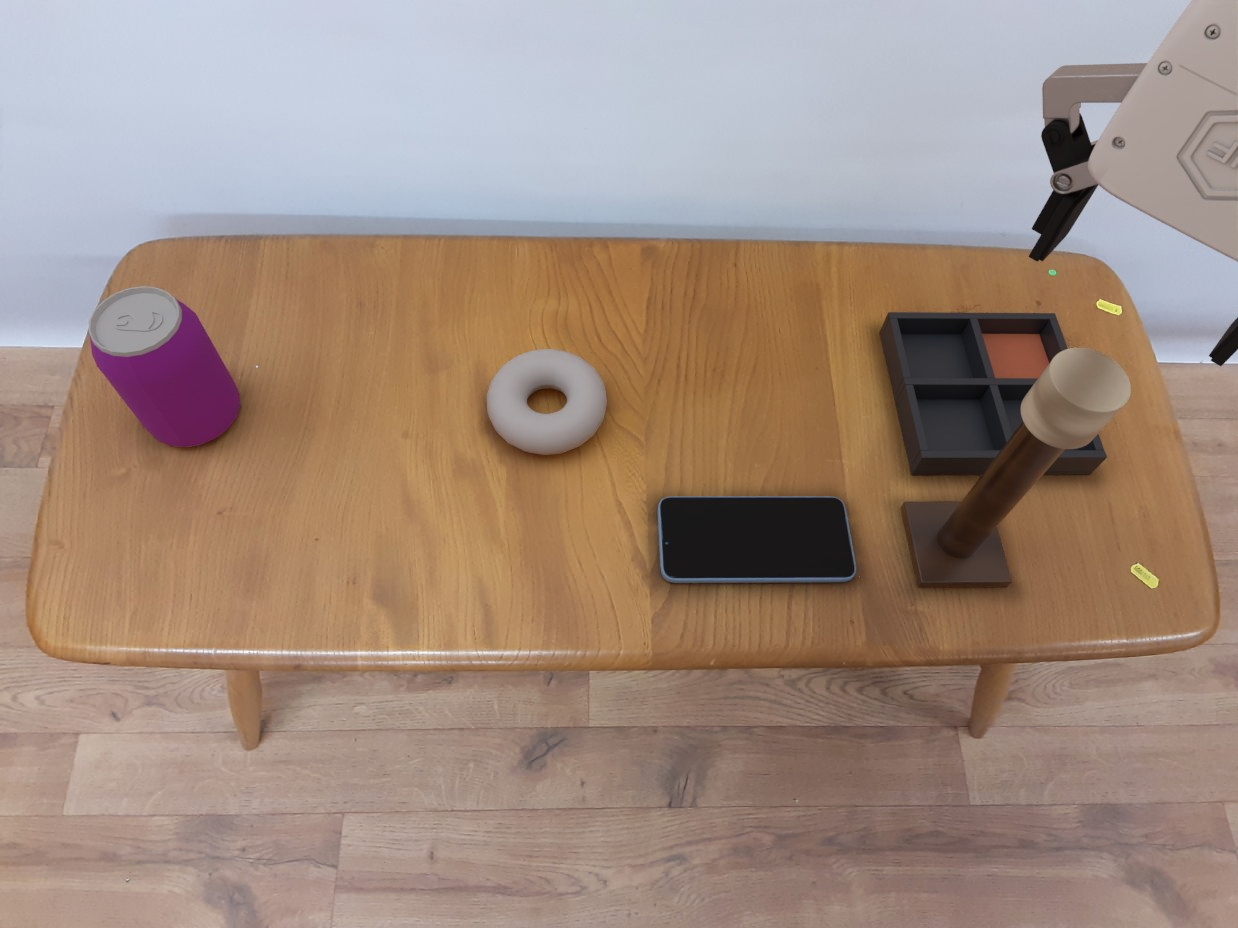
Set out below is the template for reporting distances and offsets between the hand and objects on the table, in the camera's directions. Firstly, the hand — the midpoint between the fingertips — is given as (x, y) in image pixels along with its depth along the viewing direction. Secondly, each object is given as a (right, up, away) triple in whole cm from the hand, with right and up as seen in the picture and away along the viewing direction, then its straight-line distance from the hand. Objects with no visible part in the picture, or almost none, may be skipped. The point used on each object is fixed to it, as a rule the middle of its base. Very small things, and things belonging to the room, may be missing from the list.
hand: (1132, 295), depth 45 cm
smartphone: (-15, -15, +24) cm, 32 cm away
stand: (0, -15, +25) cm, 29 cm away
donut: (-32, -4, +30) cm, 44 cm away
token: (+1, -6, +9) cm, 11 cm away
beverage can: (-61, -5, +29) cm, 68 cm away
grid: (+5, -3, +32) cm, 33 cm away
